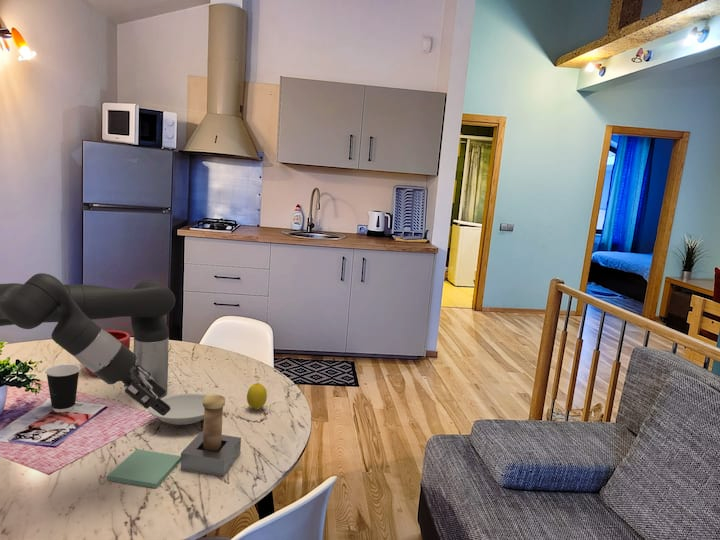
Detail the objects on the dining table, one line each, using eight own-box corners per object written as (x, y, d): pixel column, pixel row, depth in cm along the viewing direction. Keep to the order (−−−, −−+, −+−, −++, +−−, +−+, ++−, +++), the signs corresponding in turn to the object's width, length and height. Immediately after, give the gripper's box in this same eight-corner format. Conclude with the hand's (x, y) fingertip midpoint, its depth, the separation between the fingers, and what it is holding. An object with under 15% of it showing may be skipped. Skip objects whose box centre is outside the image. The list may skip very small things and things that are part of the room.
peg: (196, 465, 114) (199, 402, 111) (206, 454, 118) (208, 393, 116) (217, 468, 113) (219, 405, 111) (225, 457, 118) (228, 396, 115)
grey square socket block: (180, 469, 111) (180, 453, 111) (200, 446, 121) (201, 431, 121) (223, 476, 110) (224, 459, 110) (240, 453, 120) (241, 437, 119)
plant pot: (138, 371, 162) (138, 335, 160) (98, 383, 151) (98, 344, 149) (114, 360, 169) (114, 326, 167) (74, 371, 158) (74, 334, 156)
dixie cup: (86, 402, 138) (86, 364, 136) (70, 416, 130) (70, 376, 128) (56, 401, 138) (56, 362, 136) (39, 414, 130) (38, 373, 128)
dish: (149, 441, 122) (149, 421, 121) (147, 414, 135) (147, 396, 134) (223, 431, 129) (224, 413, 129) (214, 407, 142) (215, 390, 141)
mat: (106, 480, 106) (106, 475, 105) (136, 453, 116) (136, 449, 116) (156, 488, 104) (156, 484, 104) (181, 460, 115) (181, 456, 115)
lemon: (261, 415, 140) (263, 388, 139) (242, 411, 141) (244, 385, 140) (269, 407, 145) (270, 380, 144) (251, 403, 146) (252, 377, 145)
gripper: (90, 357, 106) (148, 402, 113) (89, 383, 94) (154, 432, 101) (119, 331, 108) (174, 377, 115) (121, 354, 95) (183, 404, 102)
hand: (164, 403), depth 108 cm, fingers open, 8 cm apart
